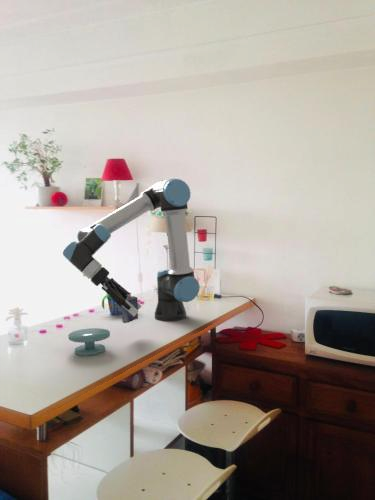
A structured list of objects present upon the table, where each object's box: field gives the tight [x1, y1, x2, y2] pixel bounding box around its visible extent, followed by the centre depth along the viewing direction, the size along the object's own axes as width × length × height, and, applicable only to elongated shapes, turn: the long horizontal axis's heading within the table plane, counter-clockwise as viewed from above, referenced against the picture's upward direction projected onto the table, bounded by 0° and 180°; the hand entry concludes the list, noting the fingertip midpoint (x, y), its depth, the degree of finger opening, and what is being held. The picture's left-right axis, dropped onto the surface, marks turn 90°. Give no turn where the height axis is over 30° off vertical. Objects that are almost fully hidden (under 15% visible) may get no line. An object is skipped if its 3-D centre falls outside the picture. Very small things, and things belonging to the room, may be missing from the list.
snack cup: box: [101, 293, 122, 316], centre depth 222 cm, size 16×10×10 cm
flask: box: [121, 294, 139, 324], centre depth 179 cm, size 9×3×11 cm, turn 151°
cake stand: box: [68, 327, 111, 357], centre depth 165 cm, size 15×15×6 cm
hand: (137, 311), depth 179 cm, fingers closed on flask, 8 cm apart
